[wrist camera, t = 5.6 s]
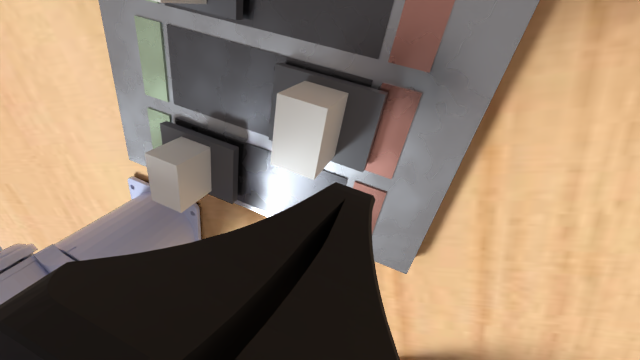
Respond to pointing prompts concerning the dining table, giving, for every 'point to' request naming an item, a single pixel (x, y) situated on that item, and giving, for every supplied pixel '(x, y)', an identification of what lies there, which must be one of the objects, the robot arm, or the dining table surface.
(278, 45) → the panel
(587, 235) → the dining table surface
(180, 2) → the block
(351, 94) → the breaker mid
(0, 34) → the dining table surface
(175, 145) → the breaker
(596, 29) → the dining table surface
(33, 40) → the dining table surface
